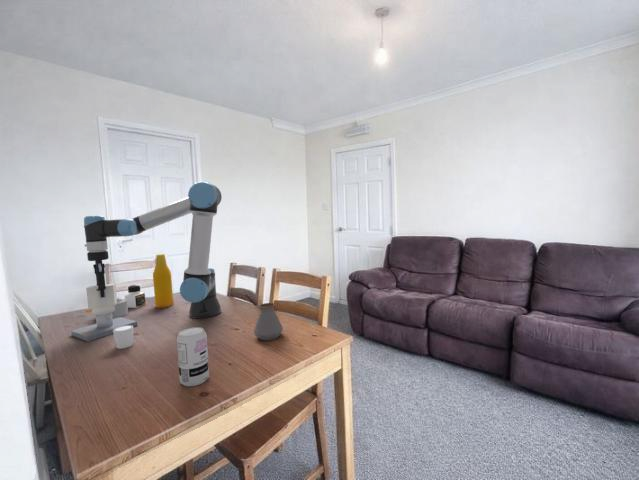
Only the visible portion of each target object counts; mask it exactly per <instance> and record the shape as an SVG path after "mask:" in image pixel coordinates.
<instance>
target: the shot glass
mask: <svg viewBox="0 0 639 480" xmlns="http://www.w3.org/2000/svg"><path fill="white" fill-rule="evenodd" d="M113 337H114V342H115V347H116V349H119V350H120V349H126V348H129V347H132V346H133V345H134V327H133V326H132V325H126V326H121V327H117V328H115V329H114V330H113Z"/></svg>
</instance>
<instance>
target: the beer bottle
mask: <svg viewBox="0 0 639 480" xmlns="http://www.w3.org/2000/svg"><path fill="white" fill-rule="evenodd" d="M152 279H153V281H152V282H153V291H154V304H155V307H156V308H159V309H160V308H169V307H171V306H173V305H174V295H173V282H172V280H173V279H172V272H171V270H170V268H169V266H168V265H167V260H166V256H165V254H164V253H160V254H159V253H158V254H156V255H155V266H154V270H153V271H152Z"/></svg>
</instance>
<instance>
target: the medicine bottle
mask: <svg viewBox="0 0 639 480" xmlns="http://www.w3.org/2000/svg"><path fill="white" fill-rule="evenodd" d="M141 289H142V288H141V285H140V284H132V285H129V286H128V287H127V292H128V294H126V295H124V299H126V300H127V305H128V309H138V308H140V307H143V306H145V305H146V293H145V292H141Z"/></svg>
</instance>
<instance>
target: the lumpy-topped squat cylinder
mask: <svg viewBox="0 0 639 480" xmlns="http://www.w3.org/2000/svg"><path fill="white" fill-rule="evenodd" d="M114 306H115V311H114V312H112V318H113V319H115V318H118V317H124V316H126V315H127V314H129V308H128V305H127V300H126V299H125V298H121V297H117V304H116V305H114Z"/></svg>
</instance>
